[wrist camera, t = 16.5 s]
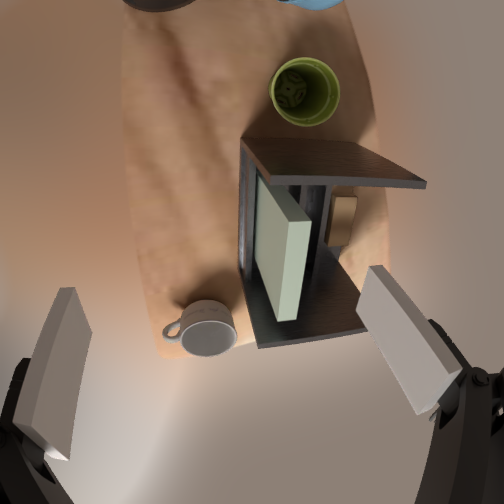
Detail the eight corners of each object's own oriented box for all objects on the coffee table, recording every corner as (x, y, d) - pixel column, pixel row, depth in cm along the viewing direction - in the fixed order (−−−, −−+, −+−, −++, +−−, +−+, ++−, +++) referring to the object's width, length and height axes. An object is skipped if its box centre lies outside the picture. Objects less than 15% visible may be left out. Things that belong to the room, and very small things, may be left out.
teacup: (237, 294, 61) (243, 323, 54) (225, 332, 66) (230, 360, 59) (166, 287, 57) (164, 316, 50) (161, 327, 62) (160, 356, 55)
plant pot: (325, 77, 41) (351, 78, 34) (301, 127, 45) (322, 138, 38) (272, 50, 38) (290, 44, 31) (247, 104, 42) (259, 109, 35)
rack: (240, 137, 45) (270, 175, 28) (354, 142, 48) (427, 181, 32) (237, 268, 57) (258, 348, 41) (334, 261, 61) (379, 328, 44)
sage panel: (255, 170, 46) (288, 221, 31) (271, 170, 47) (311, 221, 32) (252, 248, 54) (277, 321, 39) (266, 248, 54) (296, 319, 39)
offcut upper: (331, 192, 48) (336, 197, 47) (352, 192, 49) (357, 197, 47) (323, 240, 53) (327, 246, 51) (343, 239, 54) (348, 245, 52)
